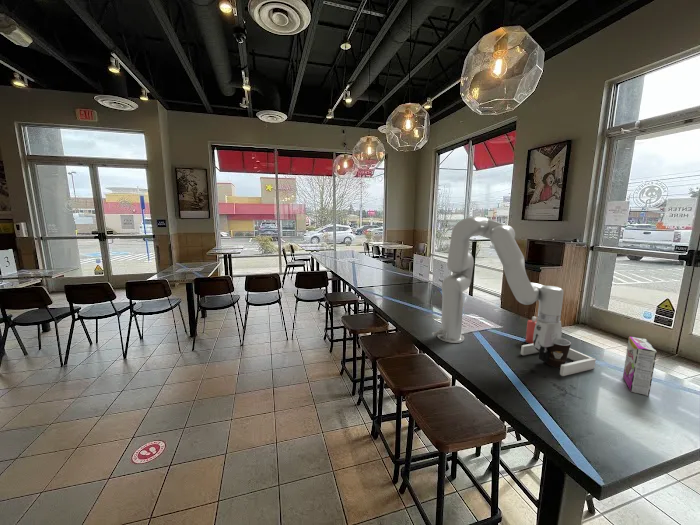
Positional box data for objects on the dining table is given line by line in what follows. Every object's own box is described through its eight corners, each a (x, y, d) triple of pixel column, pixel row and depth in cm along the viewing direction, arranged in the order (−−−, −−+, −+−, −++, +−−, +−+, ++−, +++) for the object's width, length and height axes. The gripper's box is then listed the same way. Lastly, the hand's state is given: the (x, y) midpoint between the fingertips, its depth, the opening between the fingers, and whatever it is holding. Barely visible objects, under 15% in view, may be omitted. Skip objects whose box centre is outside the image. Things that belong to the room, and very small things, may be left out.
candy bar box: (621, 376, 109) (628, 335, 106) (639, 380, 107) (647, 338, 104) (629, 392, 100) (637, 347, 97) (649, 397, 97) (658, 351, 95)
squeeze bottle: (532, 344, 136) (535, 319, 134) (523, 340, 141) (525, 315, 139) (540, 343, 138) (543, 318, 135) (530, 339, 142) (533, 314, 140)
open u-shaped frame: (562, 376, 110) (564, 366, 109) (520, 354, 127) (521, 345, 126) (594, 368, 115) (595, 359, 114) (549, 348, 132) (550, 340, 132)
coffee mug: (571, 364, 118) (574, 341, 116) (563, 371, 113) (566, 347, 111) (539, 353, 127) (541, 332, 126) (530, 359, 122) (533, 337, 120)
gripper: (543, 322, 110) (538, 367, 113) (571, 318, 114) (566, 361, 117) (526, 316, 117) (521, 358, 120) (553, 312, 121) (548, 353, 124)
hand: (543, 360), depth 119 cm, fingers closed
